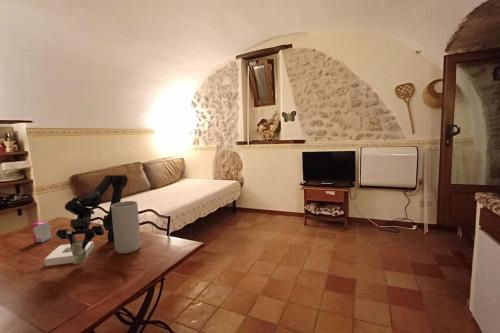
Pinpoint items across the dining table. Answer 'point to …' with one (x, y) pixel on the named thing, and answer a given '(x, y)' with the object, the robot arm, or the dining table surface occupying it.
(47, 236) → the supplement box
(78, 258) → the peg
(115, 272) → the dining table surface
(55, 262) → the socket block
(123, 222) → the cylinder vase
